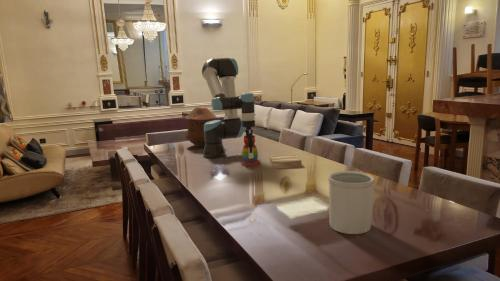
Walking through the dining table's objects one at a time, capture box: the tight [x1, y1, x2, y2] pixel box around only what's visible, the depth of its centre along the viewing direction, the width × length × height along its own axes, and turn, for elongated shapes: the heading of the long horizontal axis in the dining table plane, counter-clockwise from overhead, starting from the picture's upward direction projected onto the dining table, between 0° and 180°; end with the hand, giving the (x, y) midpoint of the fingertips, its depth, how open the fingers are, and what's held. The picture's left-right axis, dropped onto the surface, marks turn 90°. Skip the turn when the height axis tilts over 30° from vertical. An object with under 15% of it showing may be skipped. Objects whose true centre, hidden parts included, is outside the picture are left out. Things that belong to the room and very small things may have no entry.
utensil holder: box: [327, 170, 375, 235], centre depth 122 cm, size 15×15×18 cm
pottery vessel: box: [184, 106, 217, 148], centre depth 276 cm, size 26×26×30 cm
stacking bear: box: [241, 134, 261, 167], centre depth 212 cm, size 11×10×18 cm
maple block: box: [269, 154, 302, 169], centre depth 211 cm, size 16×16×4 cm
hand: (250, 155), depth 213 cm, fingers open, 13 cm apart
